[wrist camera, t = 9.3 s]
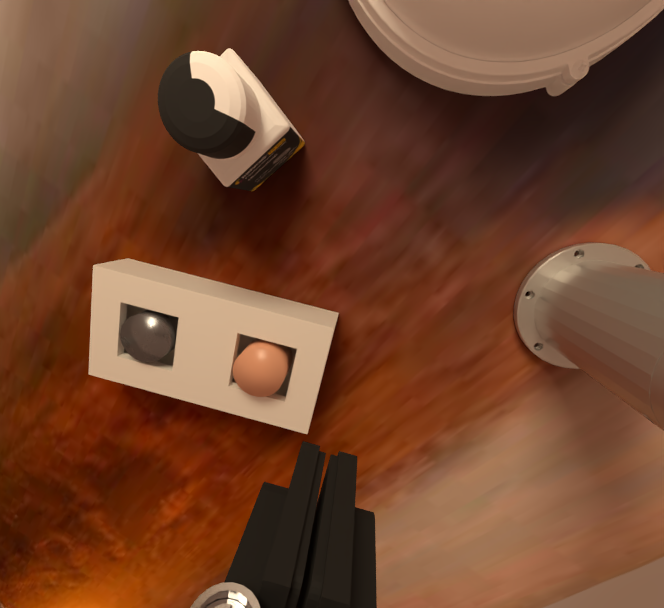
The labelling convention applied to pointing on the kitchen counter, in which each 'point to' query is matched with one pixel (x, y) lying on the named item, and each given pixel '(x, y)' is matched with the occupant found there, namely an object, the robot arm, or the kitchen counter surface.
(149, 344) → the charcoal button
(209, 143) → the medicine bottle
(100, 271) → the button console
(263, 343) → the light brown rounded piece
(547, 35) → the dome cover
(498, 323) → the kitchen counter surface
